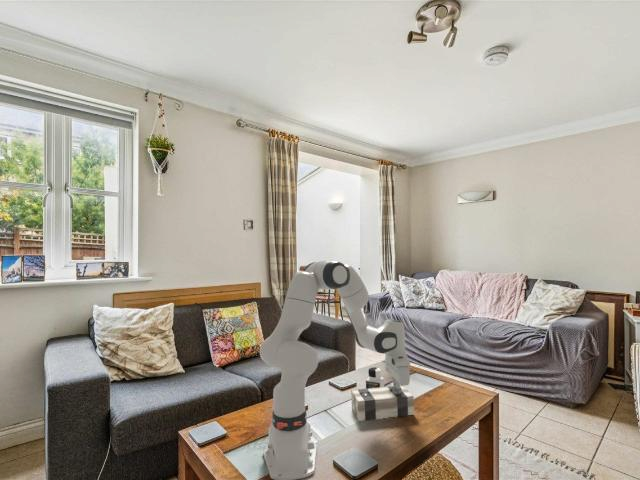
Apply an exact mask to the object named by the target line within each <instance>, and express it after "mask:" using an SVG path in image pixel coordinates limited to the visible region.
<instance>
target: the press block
mask: <svg viewBox="0 0 640 480" xmlns="http://www.w3.org/2000/svg"><path fill="white" fill-rule="evenodd" d="M392 387H394V385H392V386H384V387H379V388H368V389H366V388H359V389H358V388H357V389H351V391H350V392H351V409H352V411H353V413H354V415H355V417H356V419H357V420H358V422H365V421H374V420H383V418H385V419H389V418H388V417H395V418H398V417H397V416H404V417H409V416H408V415H414V416H415V403H414V401H415V400H414V395H413V394H412V393H411V392H410V391H409V390H408V389H407V388H406V387H405V386H401V385H400V387H401V389H402V393H401V394H393V393H392ZM362 393H370V394H371V396H369V397H362V396H361V394H362Z"/></svg>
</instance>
